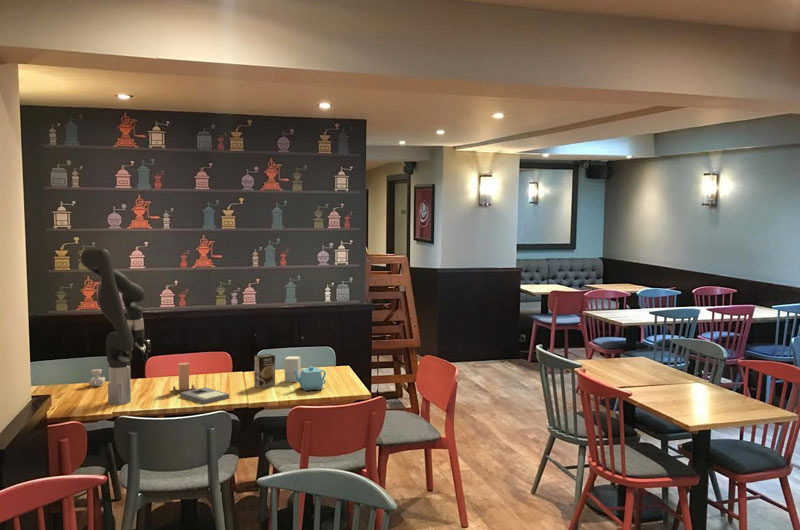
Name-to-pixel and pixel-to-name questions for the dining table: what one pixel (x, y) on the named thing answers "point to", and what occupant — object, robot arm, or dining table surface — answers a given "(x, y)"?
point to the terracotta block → (183, 376)
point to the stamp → (97, 378)
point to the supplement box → (292, 368)
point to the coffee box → (264, 371)
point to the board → (204, 395)
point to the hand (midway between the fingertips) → (137, 360)
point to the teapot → (310, 378)
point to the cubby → (182, 390)
